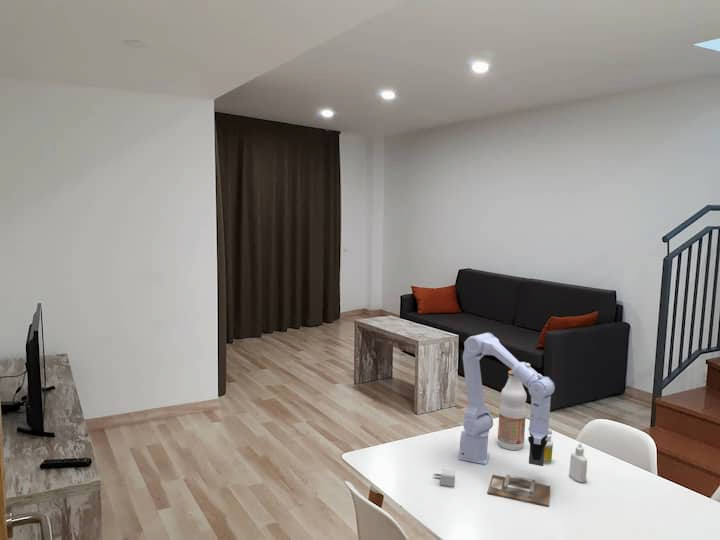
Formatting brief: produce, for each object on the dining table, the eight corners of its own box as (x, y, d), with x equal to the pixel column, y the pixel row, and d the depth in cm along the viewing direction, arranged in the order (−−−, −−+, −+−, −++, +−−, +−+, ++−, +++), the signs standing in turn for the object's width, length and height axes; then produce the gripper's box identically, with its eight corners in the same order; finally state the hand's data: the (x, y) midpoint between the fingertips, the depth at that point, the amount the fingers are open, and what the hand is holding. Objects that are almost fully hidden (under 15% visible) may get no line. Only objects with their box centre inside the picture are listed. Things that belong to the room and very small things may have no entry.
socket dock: (487, 493, 169) (487, 486, 169) (492, 476, 180) (492, 468, 180) (548, 507, 163) (549, 498, 162) (550, 487, 174) (550, 480, 173)
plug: (528, 463, 175) (530, 445, 174) (529, 459, 178) (530, 441, 177) (543, 466, 173) (544, 448, 172) (543, 461, 176) (545, 443, 176)
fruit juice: (504, 451, 198) (509, 376, 195) (492, 440, 208) (497, 368, 204) (528, 449, 201) (533, 375, 197) (515, 438, 210) (520, 367, 206)
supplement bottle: (548, 465, 189) (550, 438, 187) (533, 460, 192) (534, 434, 191) (553, 460, 193) (555, 433, 192) (538, 455, 196) (540, 429, 195)
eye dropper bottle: (572, 482, 178) (575, 447, 176) (568, 474, 183) (571, 439, 182) (586, 483, 177) (589, 448, 176) (581, 475, 183) (584, 440, 181)
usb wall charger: (454, 487, 172) (455, 475, 172) (432, 484, 173) (432, 472, 173) (454, 481, 176) (455, 469, 176) (433, 478, 177) (433, 467, 177)
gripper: (552, 426, 165) (549, 469, 167) (553, 410, 179) (550, 449, 181) (528, 422, 168) (525, 464, 170) (531, 406, 181) (528, 445, 183)
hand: (536, 456), depth 175 cm, fingers closed on plug, 3 cm apart
